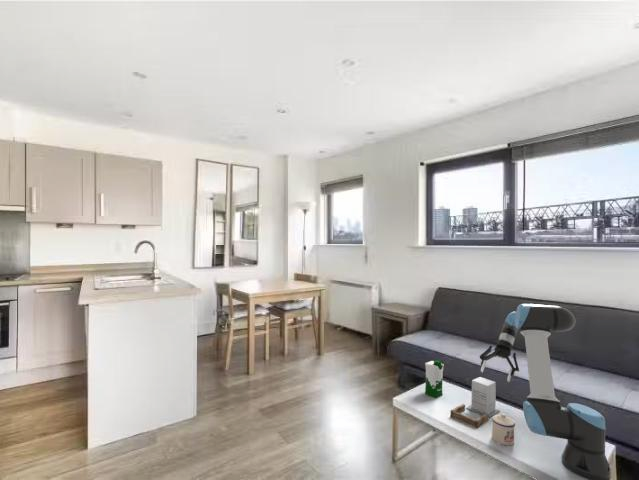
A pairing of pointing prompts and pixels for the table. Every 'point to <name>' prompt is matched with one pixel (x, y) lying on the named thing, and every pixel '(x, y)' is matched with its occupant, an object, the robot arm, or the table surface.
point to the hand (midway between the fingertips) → (494, 375)
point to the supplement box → (483, 395)
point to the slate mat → (483, 413)
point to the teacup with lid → (503, 429)
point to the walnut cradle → (475, 423)
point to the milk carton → (434, 378)
